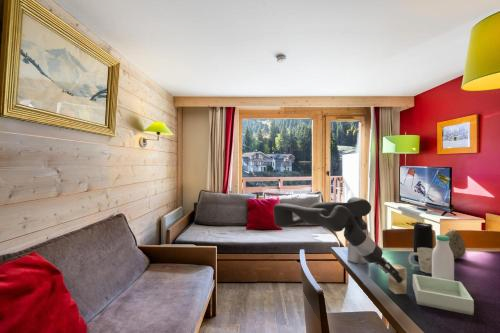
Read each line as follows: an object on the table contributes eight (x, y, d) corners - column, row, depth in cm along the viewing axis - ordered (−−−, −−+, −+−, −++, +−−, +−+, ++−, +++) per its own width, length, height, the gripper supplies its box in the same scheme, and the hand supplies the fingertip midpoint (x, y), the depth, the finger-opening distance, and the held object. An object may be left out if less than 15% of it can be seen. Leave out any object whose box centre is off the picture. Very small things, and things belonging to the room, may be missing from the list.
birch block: (395, 294, 103) (395, 268, 102) (388, 288, 107) (388, 264, 107) (406, 293, 103) (406, 268, 103) (399, 288, 107) (399, 264, 107)
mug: (441, 275, 120) (441, 253, 120) (411, 273, 123) (411, 251, 123) (433, 268, 128) (433, 247, 128) (404, 266, 131) (404, 246, 131)
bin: (417, 304, 95) (417, 290, 95) (412, 286, 109) (412, 274, 109) (473, 315, 88) (473, 300, 88) (460, 294, 102) (460, 281, 102)
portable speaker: (420, 263, 134) (420, 225, 134) (409, 257, 144) (409, 221, 144) (437, 263, 134) (437, 225, 134) (425, 257, 144) (425, 221, 144)
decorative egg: (470, 262, 136) (470, 233, 136) (447, 261, 138) (447, 232, 138) (457, 255, 146) (457, 228, 146) (436, 254, 148) (436, 228, 148)
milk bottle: (455, 288, 108) (455, 239, 108) (432, 283, 112) (432, 236, 112) (452, 281, 114) (452, 235, 114) (431, 277, 118) (431, 232, 118)
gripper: (352, 248, 110) (378, 275, 111) (369, 261, 96) (398, 291, 97) (364, 236, 111) (390, 263, 111) (383, 246, 96) (412, 277, 97)
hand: (394, 276), depth 104 cm, fingers open, 8 cm apart
